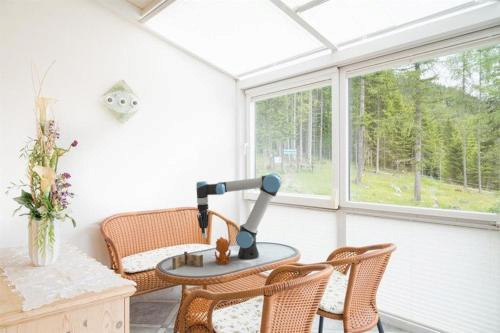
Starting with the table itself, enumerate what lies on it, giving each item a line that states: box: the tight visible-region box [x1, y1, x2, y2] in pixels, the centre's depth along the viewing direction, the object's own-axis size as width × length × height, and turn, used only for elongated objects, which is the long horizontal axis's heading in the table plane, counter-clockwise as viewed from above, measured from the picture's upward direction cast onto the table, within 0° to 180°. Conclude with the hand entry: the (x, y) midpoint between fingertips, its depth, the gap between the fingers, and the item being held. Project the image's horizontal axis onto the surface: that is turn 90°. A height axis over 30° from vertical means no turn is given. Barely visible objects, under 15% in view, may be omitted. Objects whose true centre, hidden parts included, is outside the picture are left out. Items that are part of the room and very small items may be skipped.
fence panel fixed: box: [171, 251, 188, 270], centre depth 227 cm, size 13×2×8 cm, turn 151°
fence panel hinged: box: [187, 253, 204, 268], centre depth 228 cm, size 12×2×8 cm, turn 61°
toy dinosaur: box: [214, 236, 232, 266], centre depth 233 cm, size 11×11×18 cm
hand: (204, 237), depth 239 cm, fingers closed
